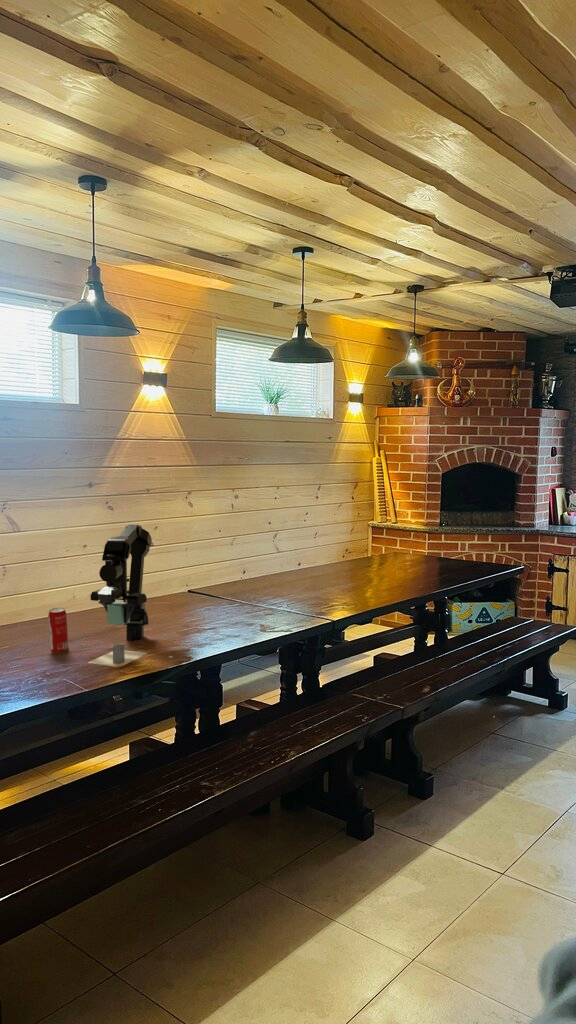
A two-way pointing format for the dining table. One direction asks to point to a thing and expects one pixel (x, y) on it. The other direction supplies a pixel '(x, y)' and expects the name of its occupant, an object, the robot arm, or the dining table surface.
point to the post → (118, 654)
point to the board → (108, 658)
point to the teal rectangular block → (115, 613)
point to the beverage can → (58, 630)
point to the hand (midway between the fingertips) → (118, 622)
